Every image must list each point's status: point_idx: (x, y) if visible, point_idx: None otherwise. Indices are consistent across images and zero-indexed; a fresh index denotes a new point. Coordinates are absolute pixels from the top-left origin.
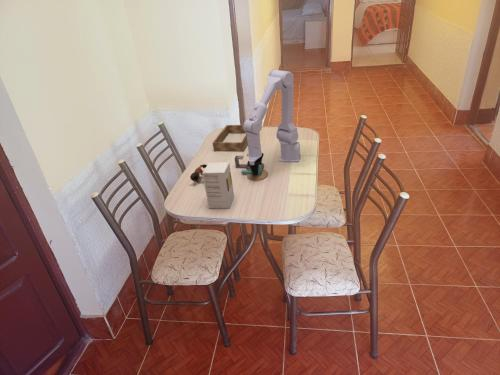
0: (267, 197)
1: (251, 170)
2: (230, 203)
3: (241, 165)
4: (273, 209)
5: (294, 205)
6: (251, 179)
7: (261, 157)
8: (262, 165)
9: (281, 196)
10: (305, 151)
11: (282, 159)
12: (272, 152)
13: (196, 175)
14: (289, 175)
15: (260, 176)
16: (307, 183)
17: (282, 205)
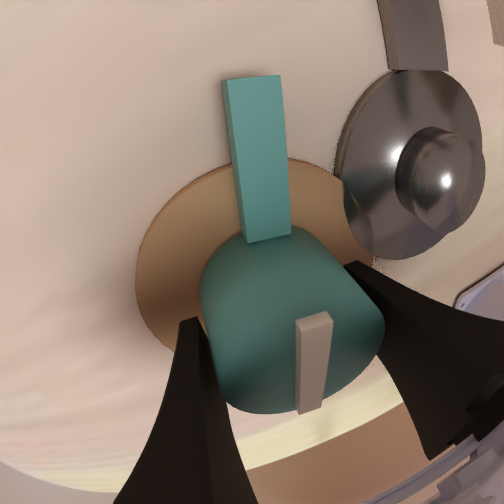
0: (47, 433)
1: (218, 323)
2: None
3: (420, 10)
4: (19, 454)
5: (90, 479)
6: (135, 289)
7: (422, 431)
8: (431, 235)
9: (100, 458)
10: None
11: (469, 303)
12: None
13: None
14: (303, 414)
15: None
16: (248, 464)
17: (59, 465)
